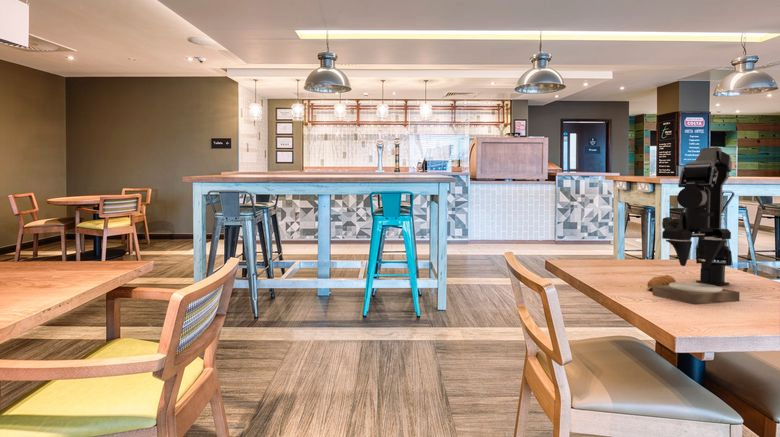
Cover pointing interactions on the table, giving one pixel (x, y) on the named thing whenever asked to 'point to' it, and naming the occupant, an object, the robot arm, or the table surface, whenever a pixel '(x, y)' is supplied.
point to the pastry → (660, 281)
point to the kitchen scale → (695, 293)
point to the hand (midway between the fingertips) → (695, 265)
